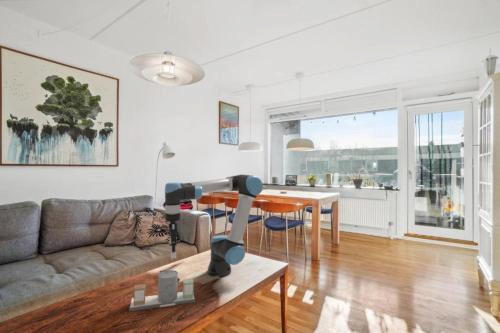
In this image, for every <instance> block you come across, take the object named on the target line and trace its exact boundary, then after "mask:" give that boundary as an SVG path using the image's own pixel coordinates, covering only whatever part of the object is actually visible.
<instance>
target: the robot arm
mask: <svg viewBox="0 0 500 333" xmlns="http://www.w3.org/2000/svg"><path fill="white" fill-rule="evenodd" d="M263 184H264V183H263V181H262V179H261V178H260V177H259V176H257V175H253V174H251V175H250V174H236V175H231V176H226V177H225V178H219V179H210V180H204V181H202V180H201V181H193V182H185V183H182V182H168V183H165V185H164V201H165V202H164V204H165V206H164V207H163V209H164V210H165V212H164V213H165V214H164V220H165V221H166V222H168V230H169V233H168V234H169V250H170V259H177V245H178V244H177V231H178V229H177V228H178V224H177V222H178V221H180V220H181V201H189V200H198V199H199V200H200V199H201V198H202V196H203V195H204V194H209V193H210V194H211V193H217V192H224V191H227V192H238V193H237V194H238V196H239V198H238V202H237V206H236V209H235V213H234V217H233V219H232V223H231V226H230V230H229V234H228V235H227V234H220V235H214V236H212V237H211V239H210V261H209V264H208V266H207V274H208V275H210V276H212V277H219V278H221V277H225V276H229V275H230V274H232V266H236V265H238V264H239V263H240V264H241V262H242V261H243V260H244V258H245V256H246V251H245V248H244V245H245V241H244V240H243V239H244V235H245V232H246V227H247V225H248V220H249V217H250V213H251V209H252V206H253V202H254V201H255V200H256V199H257V196H259V195H260V194H261V193H262V191H263V188H264V186H263ZM231 265H232V266H231Z"/></svg>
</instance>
